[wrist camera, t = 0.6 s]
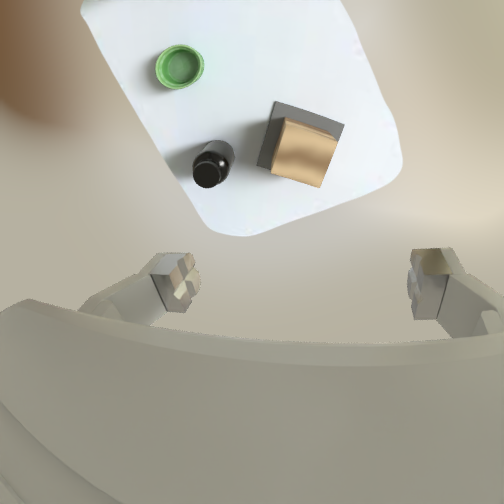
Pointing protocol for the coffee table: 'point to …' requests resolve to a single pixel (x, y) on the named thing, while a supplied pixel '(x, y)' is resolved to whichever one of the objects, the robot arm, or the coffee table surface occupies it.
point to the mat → (298, 115)
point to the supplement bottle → (213, 164)
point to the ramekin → (179, 66)
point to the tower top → (303, 154)
